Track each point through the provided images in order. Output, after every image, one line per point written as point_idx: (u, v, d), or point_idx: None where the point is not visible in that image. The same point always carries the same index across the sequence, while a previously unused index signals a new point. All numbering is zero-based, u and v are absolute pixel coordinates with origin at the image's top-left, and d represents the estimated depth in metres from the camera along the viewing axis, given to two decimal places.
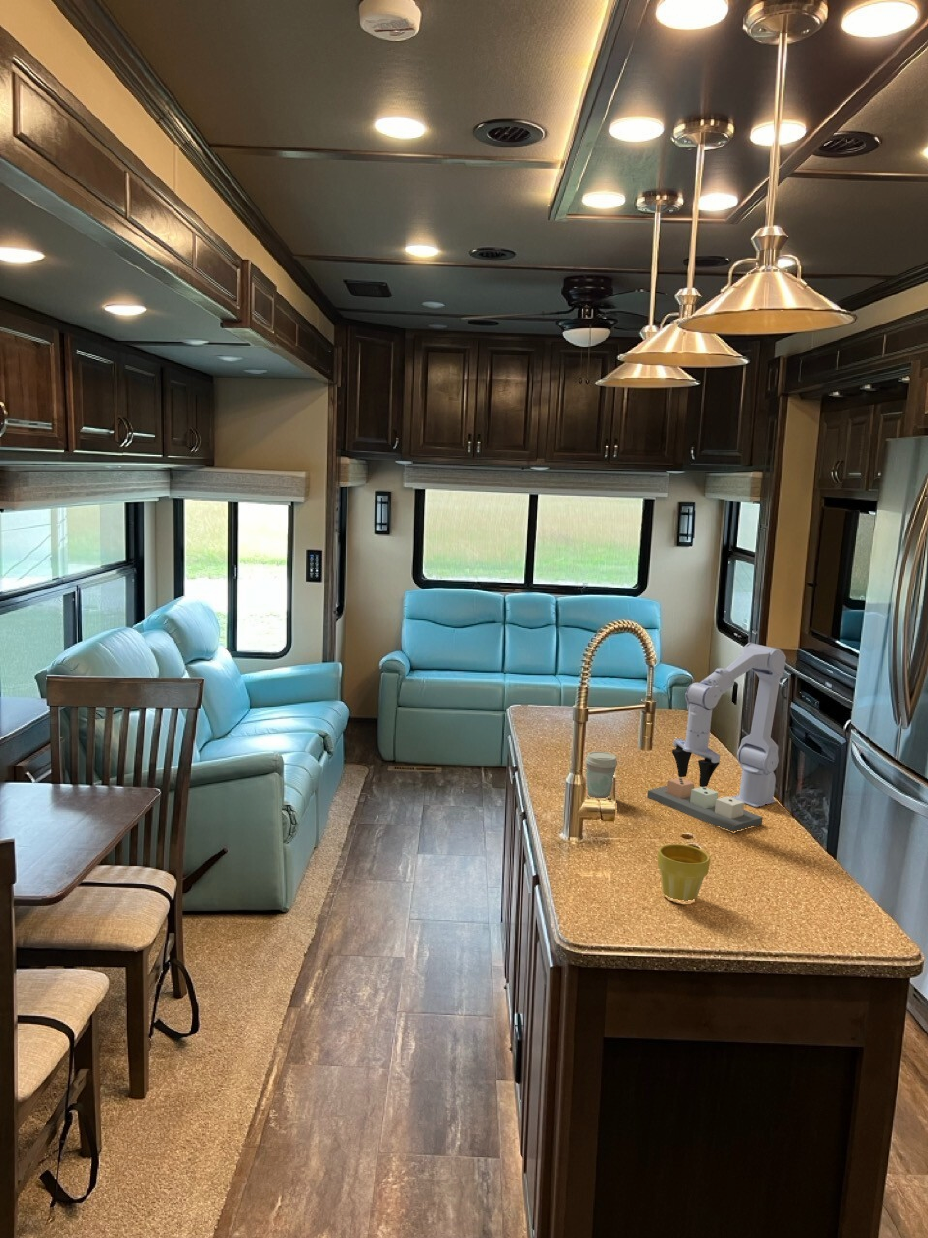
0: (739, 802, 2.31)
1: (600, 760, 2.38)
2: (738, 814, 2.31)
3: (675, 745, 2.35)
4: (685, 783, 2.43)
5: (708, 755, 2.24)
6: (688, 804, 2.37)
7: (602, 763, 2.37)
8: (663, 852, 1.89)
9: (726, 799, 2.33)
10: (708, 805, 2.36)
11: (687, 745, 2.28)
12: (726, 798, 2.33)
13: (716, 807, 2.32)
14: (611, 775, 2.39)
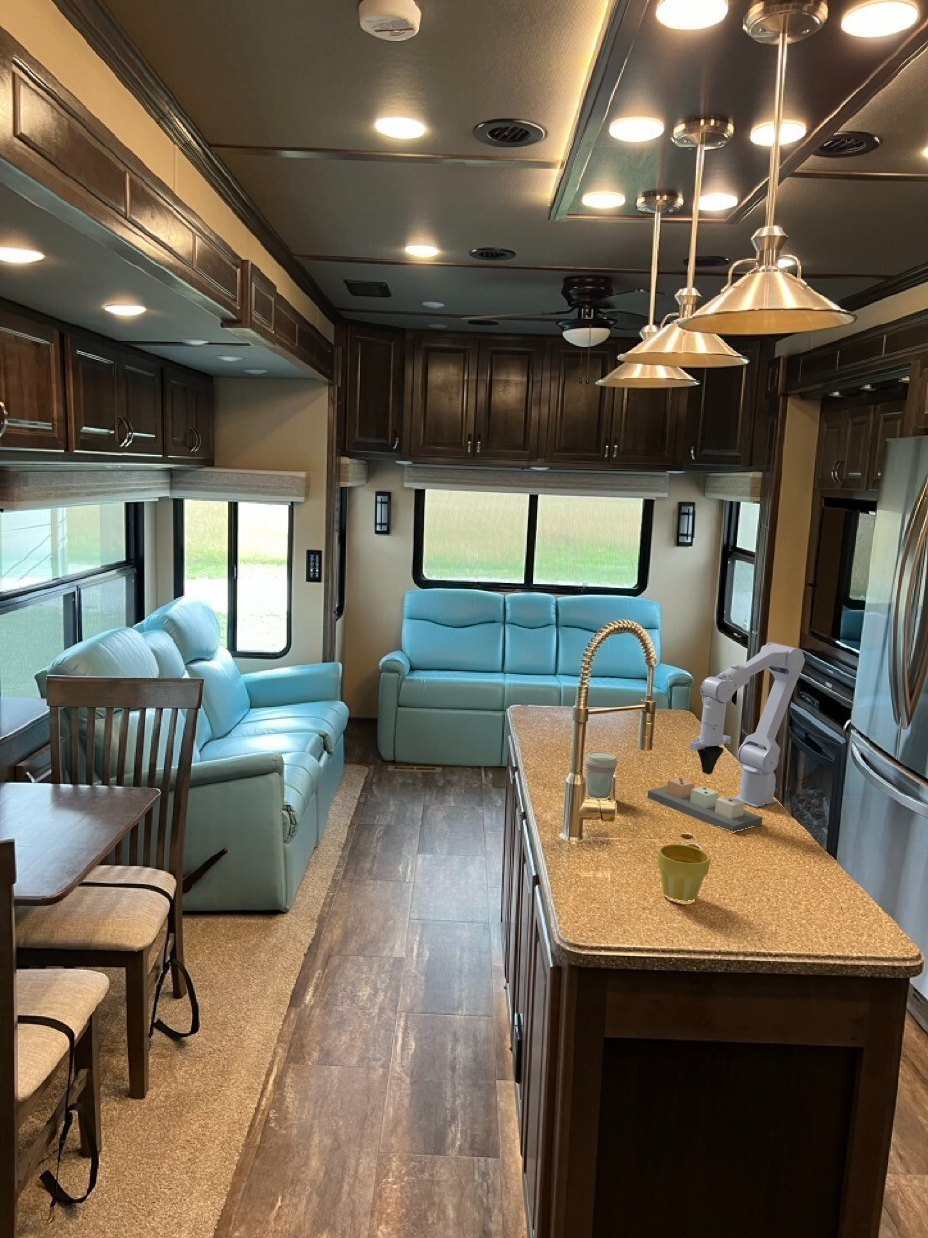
0: (739, 802, 2.31)
1: (600, 760, 2.38)
2: (738, 814, 2.31)
3: None
4: (685, 783, 2.43)
5: None
6: (688, 804, 2.37)
7: (602, 763, 2.37)
8: (663, 852, 1.89)
9: (726, 799, 2.33)
10: (708, 805, 2.36)
11: None
12: (726, 798, 2.33)
13: (716, 807, 2.32)
14: (611, 775, 2.39)
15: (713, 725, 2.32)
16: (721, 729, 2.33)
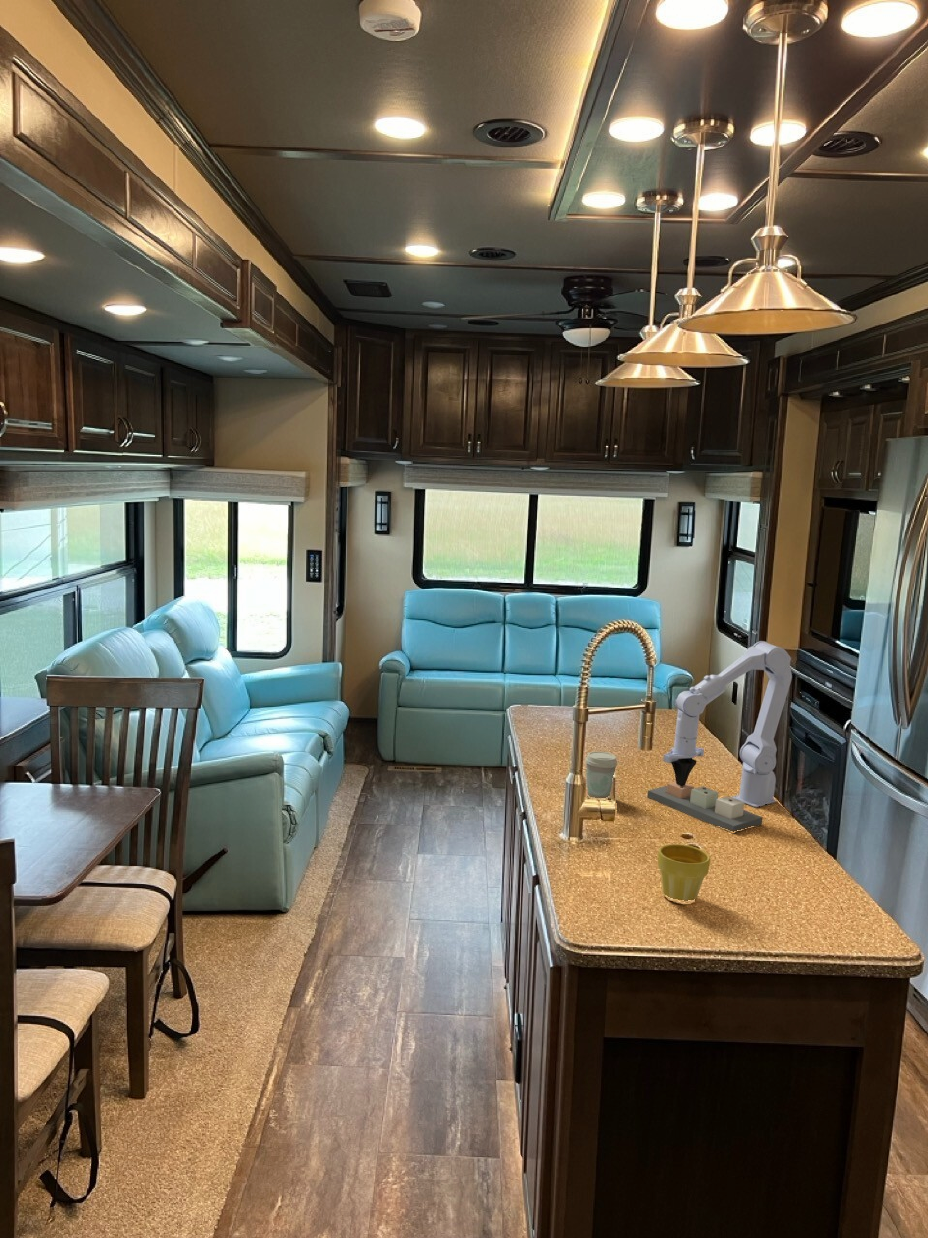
0: (739, 802, 2.31)
1: (600, 760, 2.38)
2: (738, 814, 2.31)
3: None
4: (685, 786, 2.43)
5: None
6: (688, 804, 2.37)
7: (602, 763, 2.37)
8: (663, 852, 1.89)
9: (726, 799, 2.33)
10: (708, 805, 2.36)
11: None
12: (726, 798, 2.33)
13: (716, 807, 2.32)
14: (611, 775, 2.39)
15: (686, 738, 2.40)
16: (694, 742, 2.40)
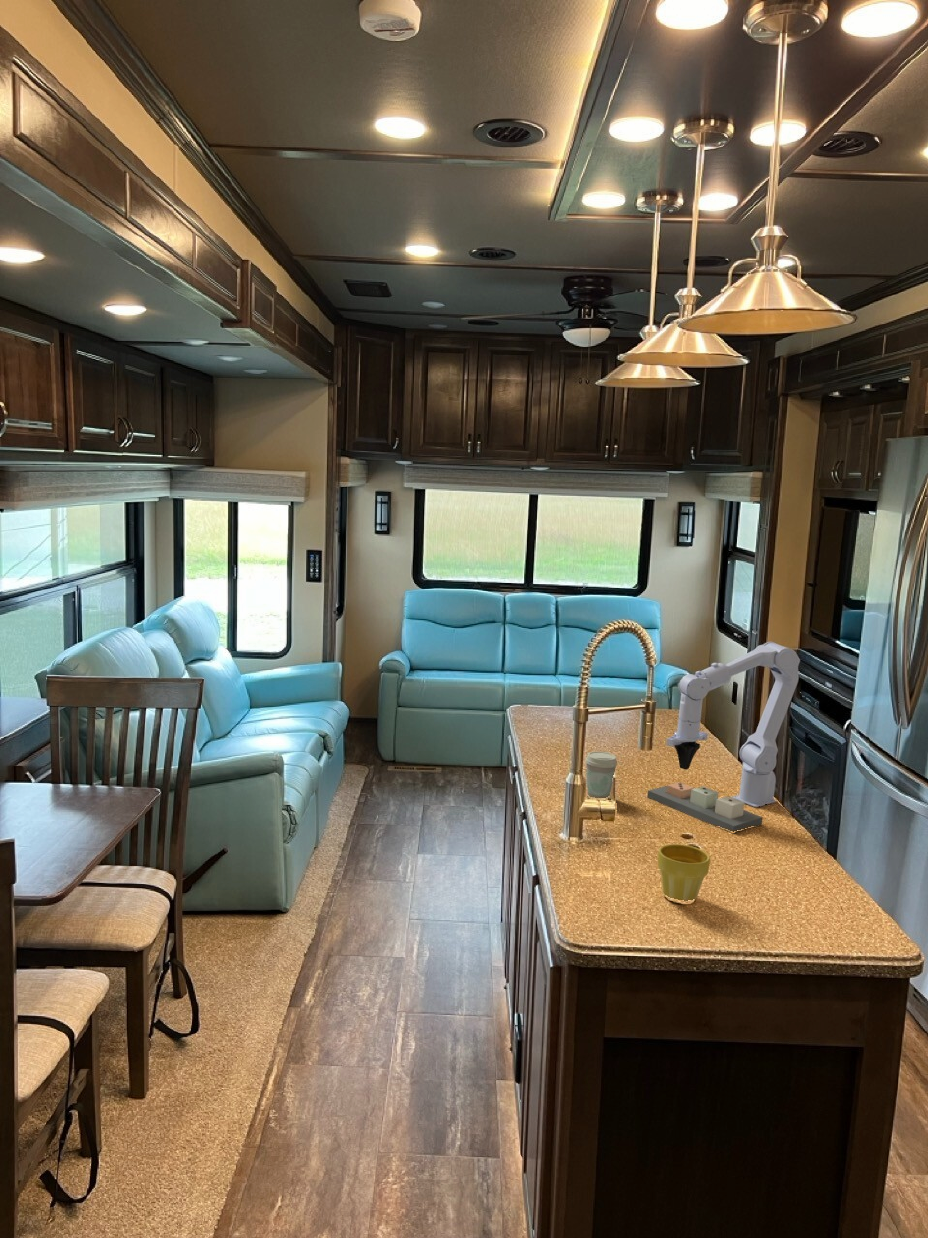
0: (739, 802, 2.31)
1: (600, 760, 2.38)
2: (738, 814, 2.31)
3: None
4: (684, 788, 2.43)
5: None
6: (688, 804, 2.37)
7: (602, 763, 2.37)
8: (663, 852, 1.89)
9: (726, 799, 2.33)
10: (708, 805, 2.36)
11: None
12: (726, 798, 2.33)
13: (716, 807, 2.32)
14: (611, 775, 2.39)
15: (689, 721, 2.38)
16: (697, 725, 2.39)
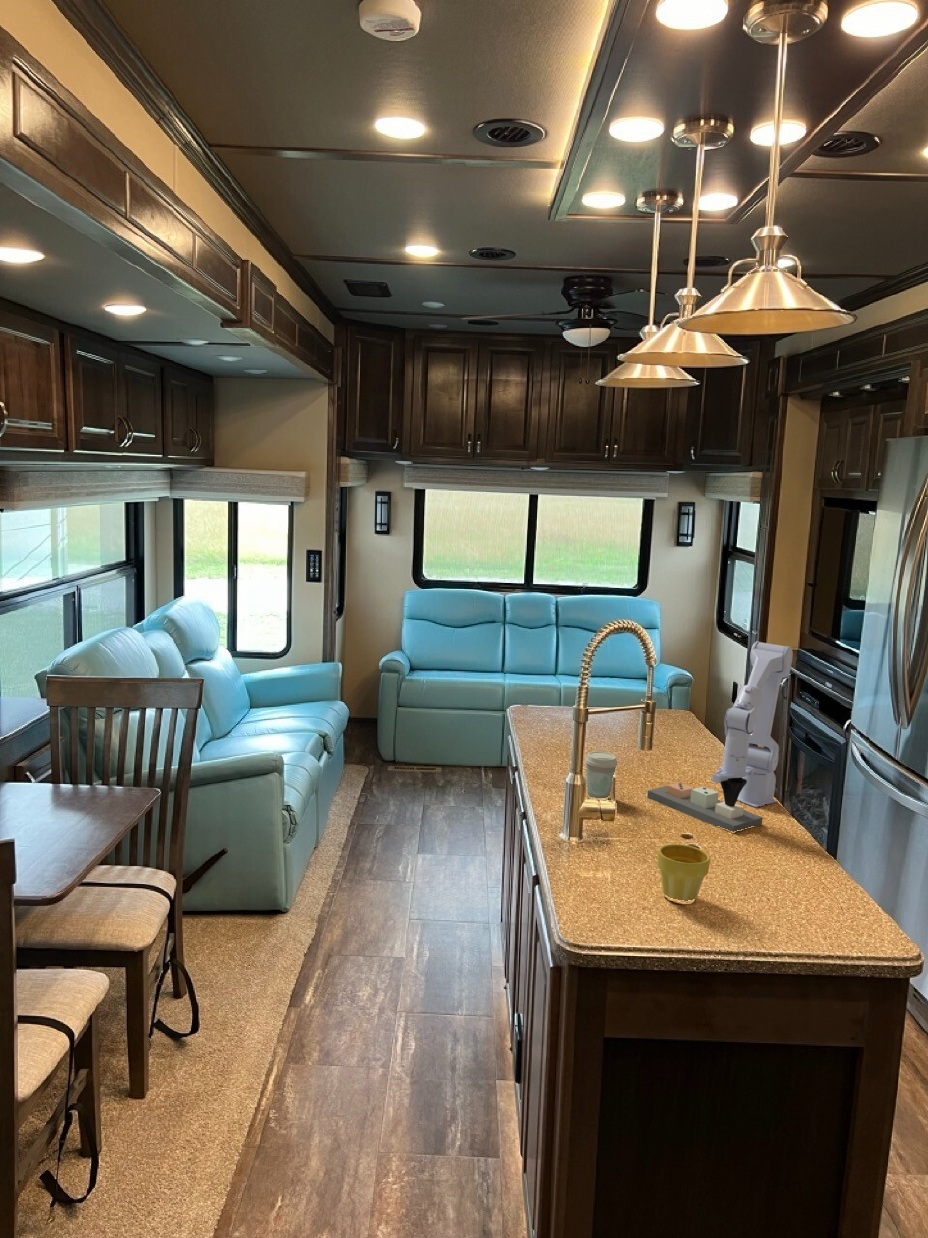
0: (738, 807, 2.31)
1: (600, 760, 2.38)
2: None
3: None
4: (684, 788, 2.43)
5: None
6: (688, 804, 2.37)
7: (602, 763, 2.37)
8: (663, 852, 1.89)
9: (725, 804, 2.33)
10: (708, 805, 2.36)
11: None
12: None
13: (716, 812, 2.32)
14: (611, 775, 2.39)
15: (736, 756, 2.27)
16: (744, 760, 2.28)
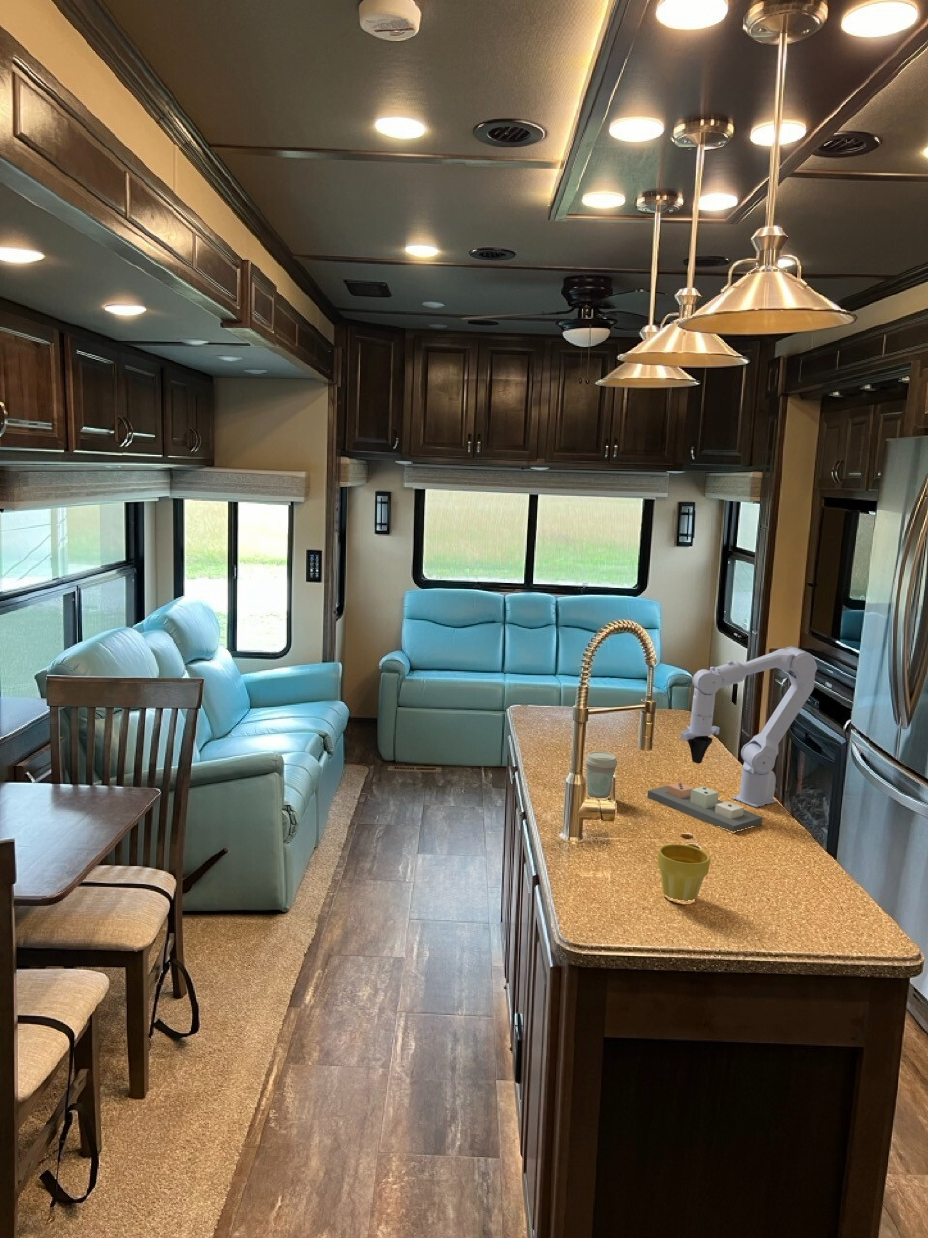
0: (738, 807, 2.31)
1: (600, 760, 2.38)
2: None
3: None
4: (684, 788, 2.43)
5: None
6: (688, 804, 2.37)
7: (602, 763, 2.37)
8: (663, 852, 1.89)
9: (725, 804, 2.33)
10: (708, 805, 2.36)
11: None
12: (726, 804, 2.33)
13: None
14: (611, 775, 2.39)
15: (703, 716, 2.42)
16: (710, 720, 2.42)
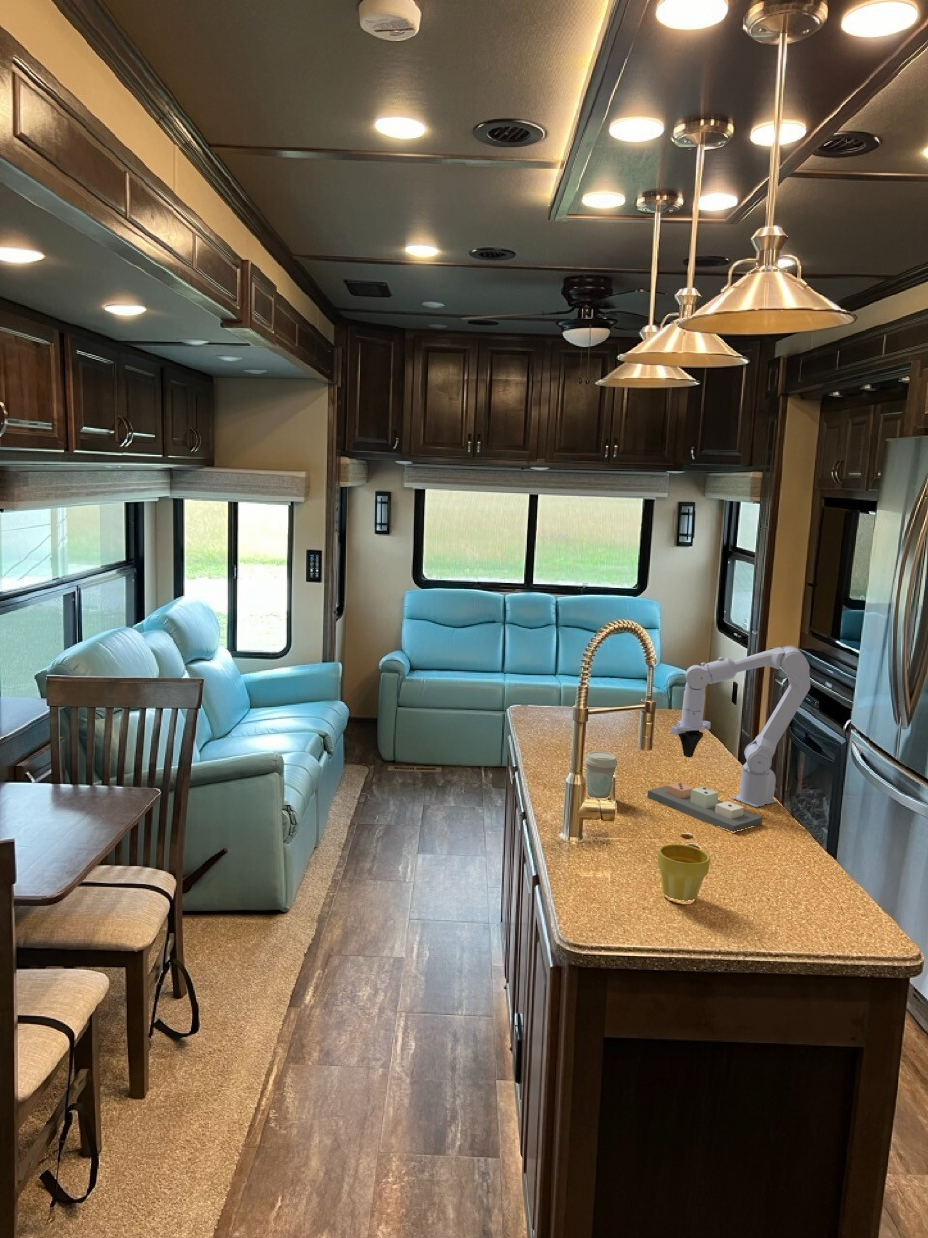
0: (738, 807, 2.31)
1: (600, 760, 2.38)
2: None
3: None
4: (684, 788, 2.43)
5: None
6: (688, 804, 2.37)
7: (602, 763, 2.37)
8: (663, 852, 1.89)
9: (725, 804, 2.33)
10: (708, 805, 2.36)
11: None
12: (726, 804, 2.33)
13: None
14: (611, 775, 2.39)
15: (693, 711, 2.46)
16: (701, 714, 2.47)
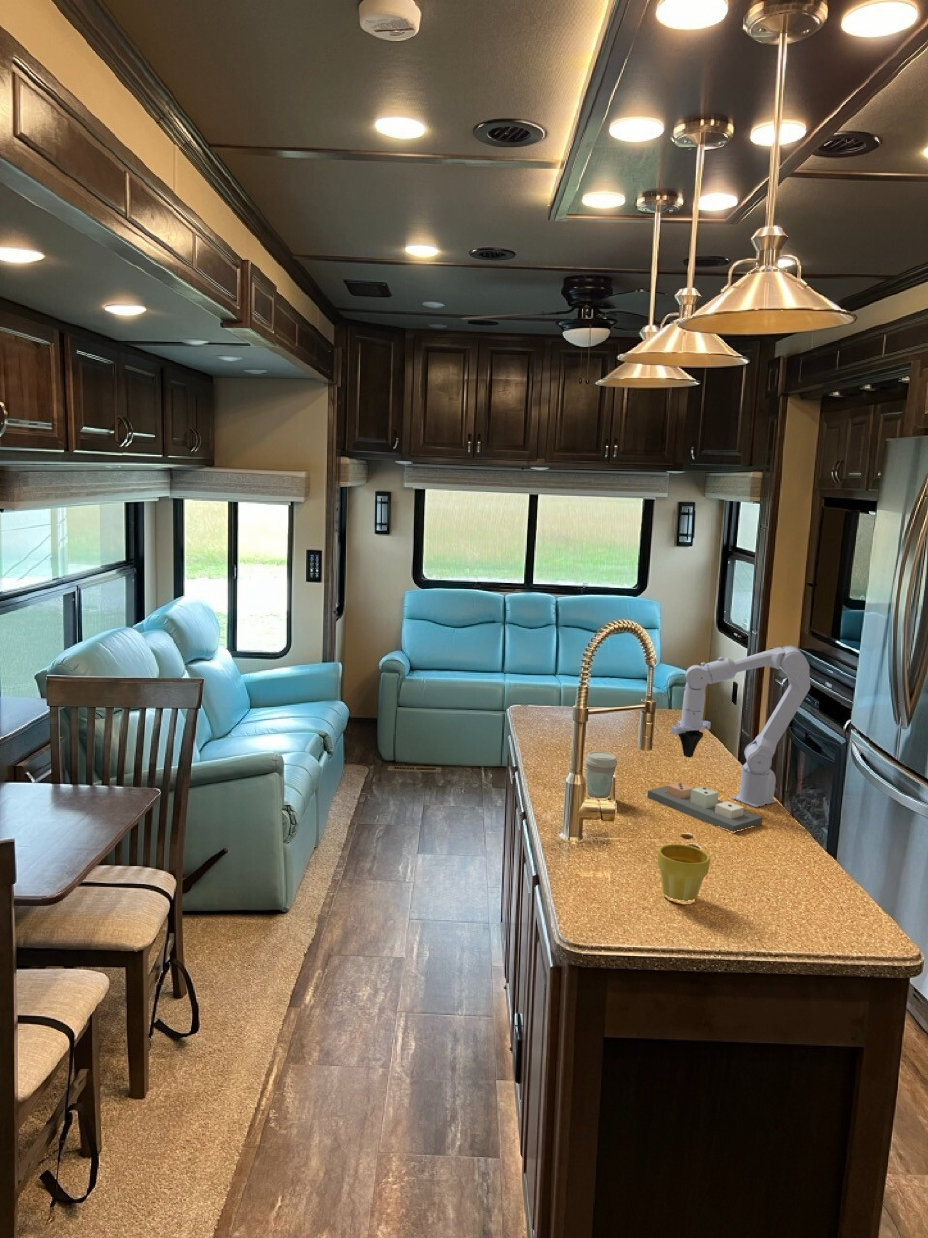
0: (738, 807, 2.31)
1: (600, 760, 2.38)
2: None
3: None
4: (684, 788, 2.43)
5: None
6: (688, 804, 2.37)
7: (602, 763, 2.37)
8: (663, 852, 1.89)
9: (725, 804, 2.33)
10: (708, 805, 2.36)
11: None
12: (726, 804, 2.33)
13: None
14: (611, 775, 2.39)
15: (693, 711, 2.46)
16: (701, 714, 2.47)
